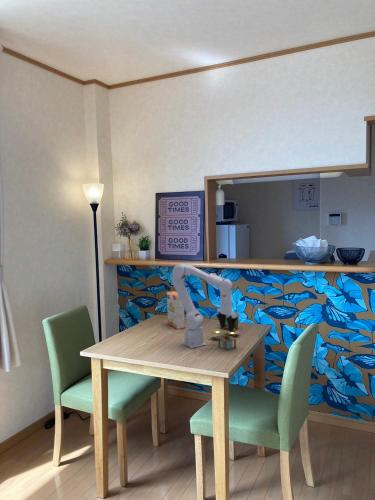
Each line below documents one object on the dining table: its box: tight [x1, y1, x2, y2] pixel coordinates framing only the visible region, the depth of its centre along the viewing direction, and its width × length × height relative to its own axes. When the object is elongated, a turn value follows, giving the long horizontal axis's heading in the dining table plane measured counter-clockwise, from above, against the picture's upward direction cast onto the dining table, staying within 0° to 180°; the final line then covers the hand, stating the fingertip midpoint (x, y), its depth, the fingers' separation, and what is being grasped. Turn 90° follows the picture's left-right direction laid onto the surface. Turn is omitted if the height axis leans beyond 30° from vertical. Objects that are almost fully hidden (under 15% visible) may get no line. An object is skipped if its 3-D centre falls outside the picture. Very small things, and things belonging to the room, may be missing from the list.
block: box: [221, 340, 234, 350], centre depth 213 cm, size 4×4×4 cm
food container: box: [222, 312, 240, 331], centre depth 245 cm, size 12×6×10 cm, turn 62°
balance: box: [209, 328, 240, 341], centre depth 230 cm, size 18×8×5 cm, turn 118°
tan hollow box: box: [217, 333, 237, 351], centre depth 213 cm, size 7×7×7 cm
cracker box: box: [166, 290, 186, 330], centre depth 255 cm, size 14×6×21 cm, turn 25°
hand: (226, 328), depth 212 cm, fingers open, 7 cm apart
